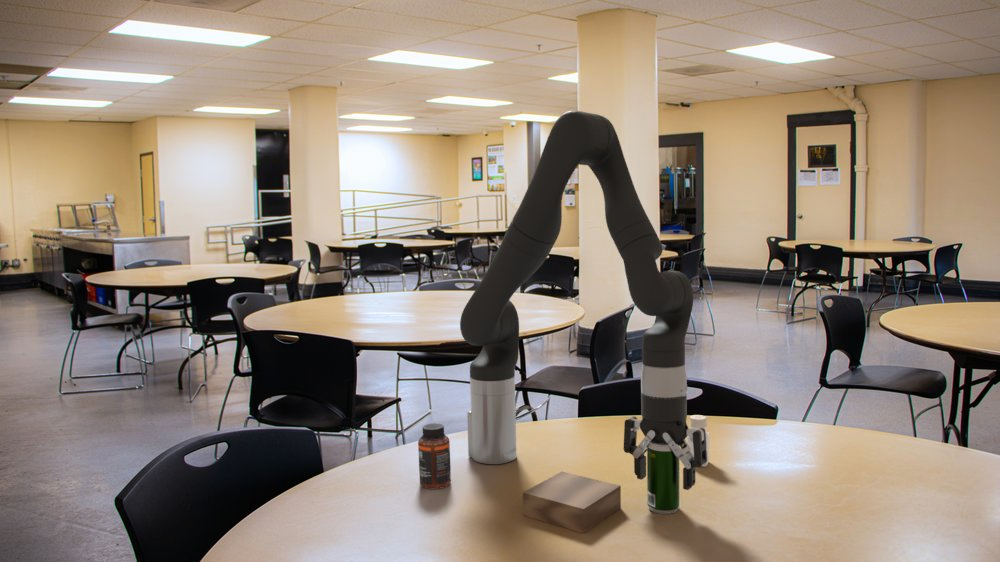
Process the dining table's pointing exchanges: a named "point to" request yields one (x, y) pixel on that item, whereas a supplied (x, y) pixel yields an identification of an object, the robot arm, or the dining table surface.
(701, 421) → the pepper shaker
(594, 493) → the walnut plinth
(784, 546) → the dining table surface
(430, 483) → the supplement bottle
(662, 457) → the beer can
